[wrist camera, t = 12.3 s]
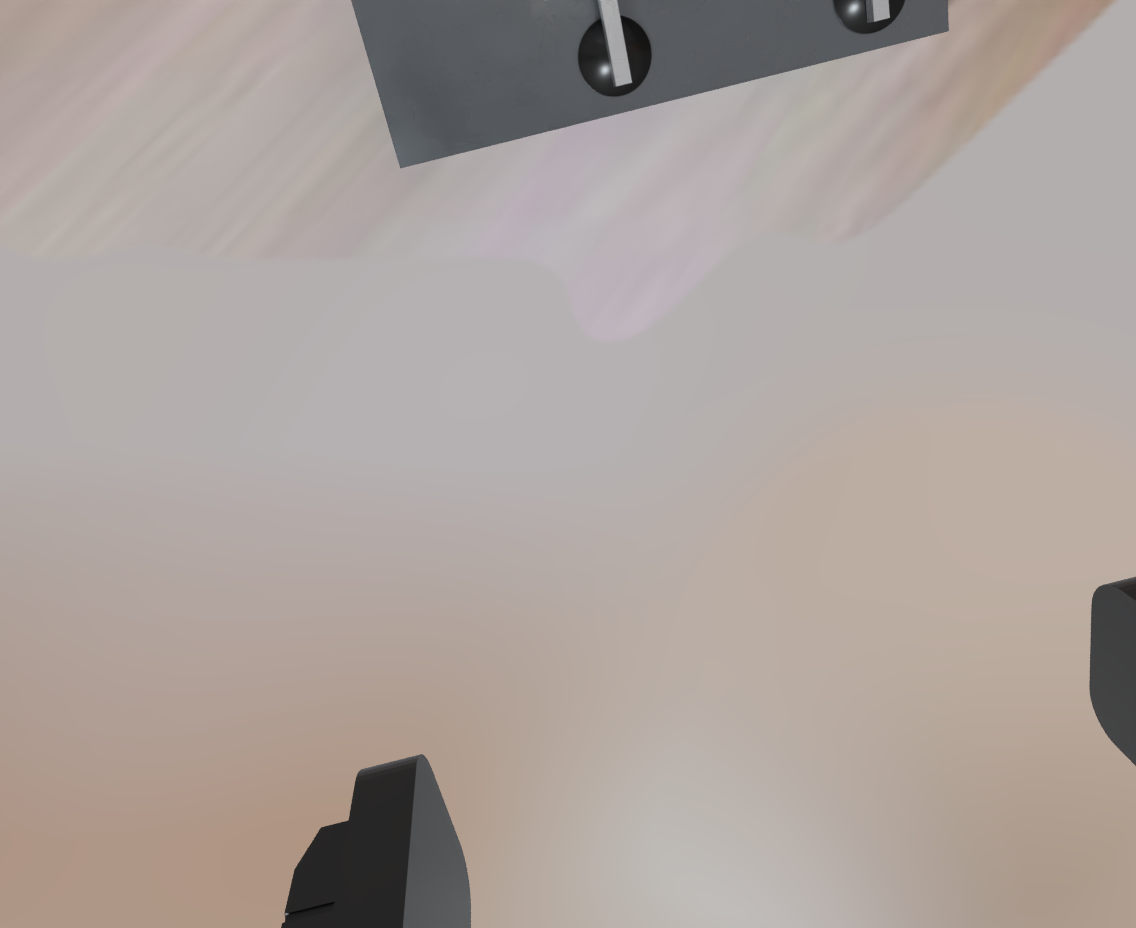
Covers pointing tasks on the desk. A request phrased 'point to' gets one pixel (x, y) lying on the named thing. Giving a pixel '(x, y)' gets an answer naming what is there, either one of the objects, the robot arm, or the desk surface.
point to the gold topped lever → (615, 42)
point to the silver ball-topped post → (877, 10)
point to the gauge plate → (592, 58)
